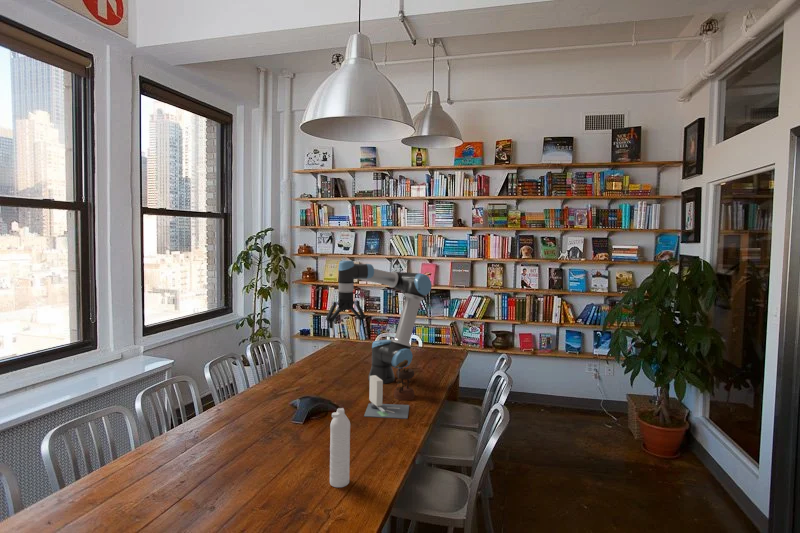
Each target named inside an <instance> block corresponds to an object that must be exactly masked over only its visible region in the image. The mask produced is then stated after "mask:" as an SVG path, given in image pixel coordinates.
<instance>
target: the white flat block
mask: <svg viewBox="0 0 800 533" xmlns="http://www.w3.org/2000/svg"><path fill="white" fill-rule="evenodd" d="M383 386H384V384H383V380H382V379H380V378H379V377H377V376H376V375H372V376H370V381H369V387H368V388H369V398H368V400H369V401H370V403H371V407H372V408H378V409H380V410H381V411H382V412H383V413H384V412H385V410H384V409H383V408H382V407H380V406H382V404H383V400H384V399H383V395H384V394H383V393H384V391H383V390H384V389H383V388H384V387H383Z"/></svg>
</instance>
